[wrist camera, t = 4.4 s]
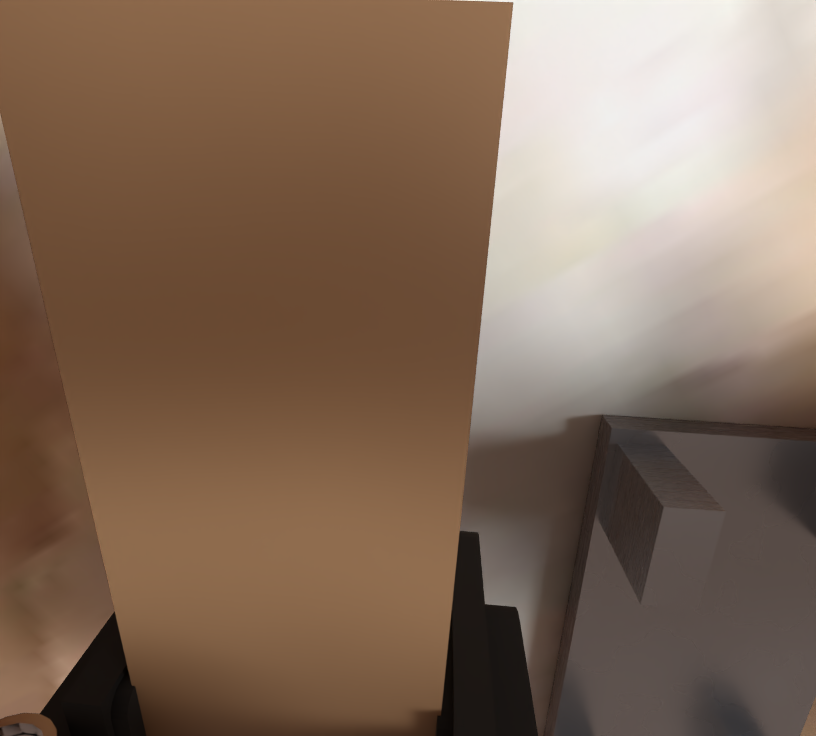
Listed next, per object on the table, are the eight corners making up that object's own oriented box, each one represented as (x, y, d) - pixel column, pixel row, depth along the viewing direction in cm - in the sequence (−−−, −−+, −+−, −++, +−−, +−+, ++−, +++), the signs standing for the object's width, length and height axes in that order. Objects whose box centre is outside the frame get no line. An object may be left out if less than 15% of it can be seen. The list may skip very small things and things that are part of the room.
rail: (203, 69, 8) (-30, -17, 4) (479, 81, 7) (514, 2, 4) (272, 810, 14) (212, 1037, 11) (416, 825, 14) (405, 1061, 10)
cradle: (602, 414, 17) (657, 488, 13) (887, 434, 17) (1043, 516, 12) (536, 777, 22) (559, 915, 18) (750, 797, 22) (825, 943, 18)
